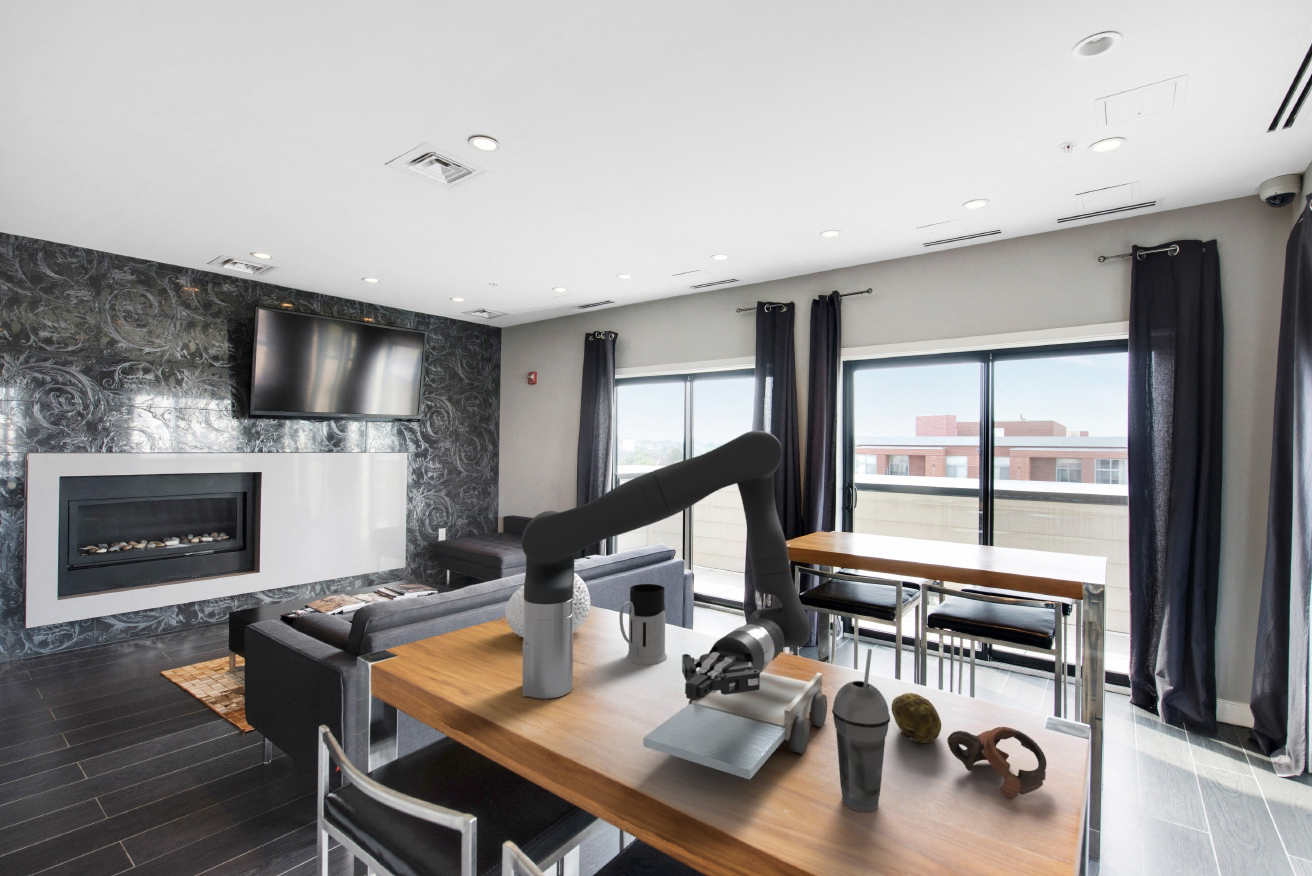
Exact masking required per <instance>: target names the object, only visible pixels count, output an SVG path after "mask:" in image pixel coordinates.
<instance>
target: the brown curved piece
mask: <svg viewBox="0 0 1312 876" xmlns="http://www.w3.org/2000/svg"><path fill="white" fill-rule="evenodd" d="M1012 738H1014V739H1016V740H1017V741H1019V743H1020V745H1021V746H1022V747H1023V748H1025V749H1027V750H1029V751H1030V752H1031V753H1033V754H1034V756H1035V757H1036V760H1037V762H1038V767H1036V769H1033V770H1024V769H1018V773H1017V775H1016V774H1014V773H1012V772H1011V771H1010V768H1011V764H1010V763H1009V762H1008V761H1007V760H1008V759H1009V757H1010V754H1009V753H1007V752H1005V751H1003V750H1001V749H1000V748H998V747H997V745H998V744H999V743H1000V741H1001V740H1008V739H1012ZM946 741H947V745H948V748H949V750H950V752H951V754H952V755H953V756H954V757H955V758H956V759H957V760H959V761H960V762H961V763H962V764H963V765H964V767H965V769H966V770H967V771H968V772H971V771H972V767H973V766H974V764H975V763H977V762H980V761H987V762H988V763H989V764H990V765H991V766H992V768H993V769H994V770H995V771H996V773H997V774H999V775H1000V776H1001V777H1002V779H1004V782H1003V785H1002V786H1001V787H1000V788H999V792H1000V794H1001V795H1002V796H1004V797H1006V798H1008V799H1010V800H1012V799H1014V798H1016V797H1018V795H1019V794H1020V795H1026V794H1029V793H1031V792H1034V791H1036V790H1038V789H1040V788H1041V787H1042V786H1043V784H1044V781H1045V780H1046V774H1047V773H1046V772H1047V771H1046V769H1047V760H1046V759H1047V758H1046V756H1045V753H1044V752H1043V750H1042V749H1041V747H1040V746H1039V745H1038V743H1036V741H1035V740H1034V739H1033V738H1031V737H1030V736H1029V735H1027V734H1025V733H1024V732H1021V731H1020V730H1016V729H1014V728H1012V727H1006V726H998V727H995V728H992V729H990V730H986V731H983V732H981V733H979V734H978V735H974V734H972V733H970V732H968V731H965V730H964V731H963V730H956V731H952V732H951V733H950V734H949V736H948V737H947V740H946ZM960 745H961V746H963V747H965V748H966V749H963V748H962V747H961V746H960Z"/></svg>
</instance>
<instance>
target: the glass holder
mask: <svg viewBox="0 0 1312 876" xmlns="http://www.w3.org/2000/svg"><path fill="white" fill-rule="evenodd" d="M665 592H666V591H665V586H663V585H659V584H656V583H655V584H653V583H641V584H635V585H631V586H630V588H629V601H628V600H627V601H624V603H622V605H621V606H620V610H619V617H618V619H619V628H620V633H621V634H622V638H623V639H624V641H626V643H627V644H628V653H627V655H626V660H627V661H629V662H630V663H632V664H637V665H641V666H642V665H643V666H645V665H646V666H650V664H653V665H658V664H662V663H664V662H665V661H666V660H667V659H668V656H667V653H666V604H665V597H666V595H665ZM627 605H629V610H628V636H627V634H626V631H625V627H624V620H623V619H624V610H625V608H626V606H627ZM663 661H664V662H663ZM661 662H662V663H661ZM657 663H658V664H657Z"/></svg>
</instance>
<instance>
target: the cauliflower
mask: <svg viewBox="0 0 1312 876" xmlns="http://www.w3.org/2000/svg"><path fill="white" fill-rule="evenodd" d="M591 602H592V601H591V596H590V592H589V589H588V587H587V585H586V583H585V582H584V579H583V578H581V577H580V576H579V574H577V573H575V572H574V589H573V634H574V632H575V631H578V629H579V628H581V627H582V626H583V625H584V624H585V623H586V621H587V619H588V616H589V614H590V609H591ZM504 609H505V612H504V614H505V616H506V617H505V620H507V624H508V625H509V627H510V628H511V630H512V631H513V633H514V634H515V635H517V636H518V637H519V638H521V637H522V639H524V584H523V585H522V586H520V587H518V589H517V590H515V592H514V593H513V594H512V595H511V597H509V600H508V601H507V604H505V608H504Z"/></svg>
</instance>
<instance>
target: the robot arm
mask: <svg viewBox="0 0 1312 876" xmlns="http://www.w3.org/2000/svg"><path fill="white" fill-rule="evenodd" d="M782 458H783V448H782V444H781V442H780V440H779V439H778V438H777V437H776V436H775V435H773V434H772V433H770V432H768V431H763V430H752V431H747V432H745V433H742V434H740V435H739V436H737V437H735V438H733V439H732V440H730V441H728V442H725V443H724V444H722V445H720V446H718V447H716V448H714V449H712V450H710V451H707V452H705V453H703V454H700V455H698V456H694V457H690V458H687V459H685V460H681V461H678V462H675V463H672V464H669V465H667V466H663V467H661V468H658V469H655V470H652V471H650V472H647V473H644V474H642V475H639V476H637V477H634V478H632V479H630V480H628V481H626V482H624V483H621V484H620V485H618V486H616V487H615V488H614V487H613V488H612V489H611V490H608V492H606V493H604V494H602V495H601V496H599V497H597V498H595V499H594V500H592V501H590V502H587V503H585V504H583V505H580V506H576V507H574V508H570V509H567V510H564V511H561V512H559V511H554V510H547V511H543V512H541V513H539V514H537V515H536V516H534V517H533V518H532V519H531V520H529V523H527V525H526V527H525V528H524V530H523V534H522V536H521V548H522V551H523V553H524V555H525V557H526V558H525V563H526V564H525V576H524V583H523V585H524V638H523V641H522V686H521V687H522V690H521V691H522V692H521V693H522V697H528V698H529V697H531V698H533V699H543V700H546V699H547V700H548V699H555V698H559V697H563V696H565V695H568V694H569V693H571V692H572V690H573V687H574V633H573V589H574V573H575V557H576V556H575V555H576V554H577V553H579V552H580V551H583V550H584V549H586V548H588V547H590V546H592V545H594V544H597V543H599V542H601V541H604V540H607V539H610V538H613V537H617V536H619V535H623V534H626V533H630V532H632V531H635V530H638V529H642V528H643V527H646V526H649V525H653V524H656V523H658V522H661V521H662V520H666V519H667V518H670V517H672V516H675V515H677V514H679V513H681V512H683V511H685V510H687V509H688V508H690V507H692V506H693V505H696V504H697V503H699V502H700V501H703V499H705V498H707V497H708V496H710V495H712V494H713V493H715V492H716V491H720V490H722V489H724V488H727V487H730V486H734V485H735V484H736V485H737V487H738V490H739V493H740V498H741V502H742V507H743V512H744V516H745V517H744V518H745V524H746V531H747V539H748V540H747V541H748V549H749V556H750V564H751V570H752V571H751V572H752V579H753V586H754V588H755V591H756V592H757V593H759V594H763V595H769V596H774V597H776V598H777V599H778V601H779V602H780V603H781V605H782V606H775V607H774V606H773V607H765V608H759V609H756V610H755V611H753V612H752V614H751V615H750V617H749V620H748V622H746V624H745V625H743V626H739V627H737V628H735V629H734V630H732V631H730V632H729V633H727V634H725V635H724V636H722V637H721V638H720V639H718V640H717V641H716V642H715V643H714V644H713V645H712V647H711V649H710V650H709V652H708V653H703V654H701V655H700V656H699V658H695V657H692V656H691V654H688V653H685V654H682V655H681V657H682V659H681V673H682V674H683V677H684V680H685V684H684V686H685V687H684V694H685V695H686V699H688V700H690V699H692V700H695V701H698V700H699V699H700V698H704V697H705V696H706V695H707V694H709V693H715V692H717V691H718V690H720V691H721V694H724V695H728V694H735V693H741V692H748V691H755V690H759V689H760V673H761V672H765V670H766V669H767V668H768V666H769V665H770V663H771V662H773V661H774V660H775V659H776V658H777V657H778V656H779V655H780V654H781V653H782V650H783V649H784V648H796V647H797V648H799V647H802V646H804V645H806V644H807V643H808V641H809V638H810V636H811V624H810V620H809V617H808V614H807V613H806V610H805V607H804V606H803V603H802V601H801V599H800V597H799V594H798V592H797V588H796V586H795V583H794V580H793V576H792V567H791V563H790V556H789V549H788V545H787V541H786V538H785V537H786V536H785V534H784V530H783V528H782V525H781V521H780V519H779V515H778V511H777V505H776V499H775V487H774V484H775V483H774V482H775V481H774V480H775V472H777V469H778V468H779V467H780V464H781V462H782ZM698 668H699V669H698Z"/></svg>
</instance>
